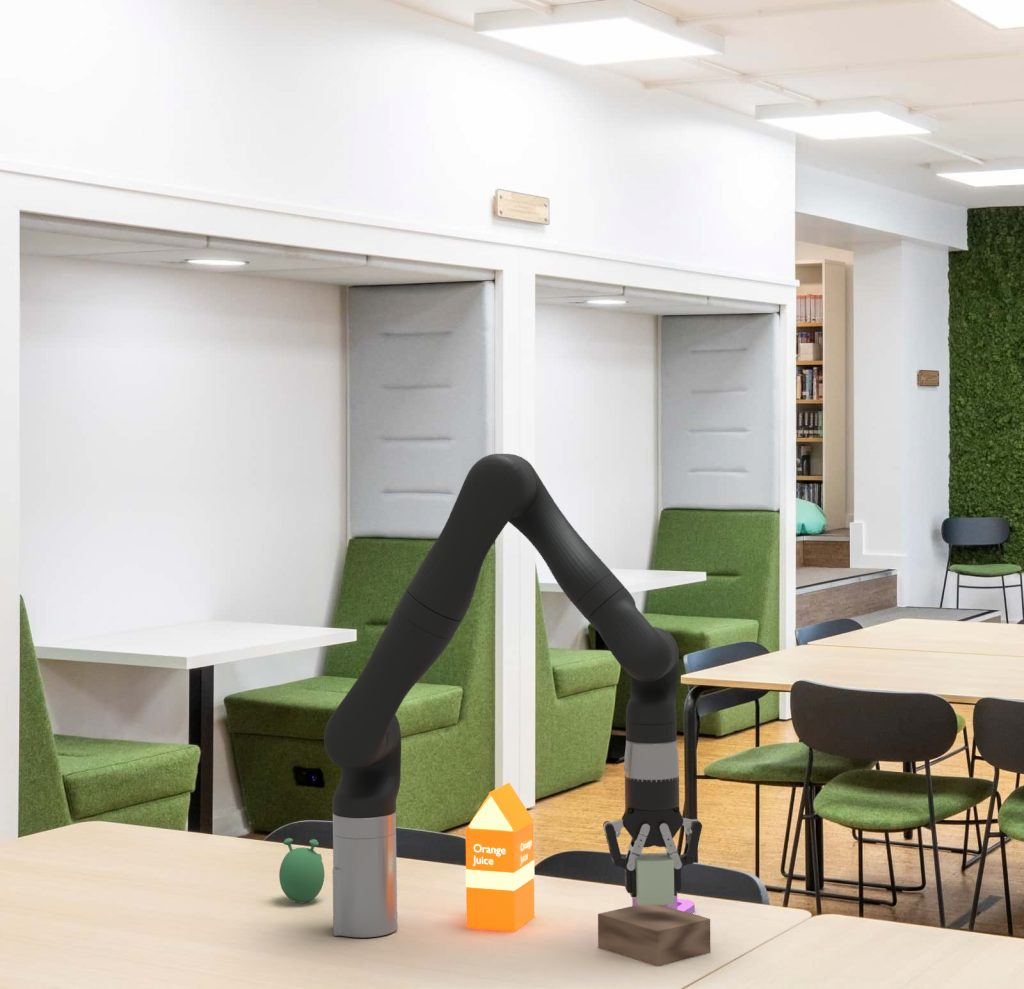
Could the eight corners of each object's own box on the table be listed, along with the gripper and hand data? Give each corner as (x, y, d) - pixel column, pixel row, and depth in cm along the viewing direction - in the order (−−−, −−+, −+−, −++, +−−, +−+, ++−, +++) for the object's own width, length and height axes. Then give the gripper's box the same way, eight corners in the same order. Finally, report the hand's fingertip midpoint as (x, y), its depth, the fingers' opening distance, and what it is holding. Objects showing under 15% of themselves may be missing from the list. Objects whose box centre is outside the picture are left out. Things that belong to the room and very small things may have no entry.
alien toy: (329, 895, 257) (329, 832, 257) (319, 908, 250) (318, 843, 250) (286, 895, 258) (285, 832, 258) (274, 907, 250) (274, 842, 250)
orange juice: (465, 927, 237) (464, 791, 237) (487, 912, 246) (485, 781, 246) (515, 932, 235) (514, 794, 235) (536, 916, 243) (534, 783, 243)
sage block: (638, 905, 222) (637, 861, 222) (632, 896, 227) (632, 853, 227) (674, 904, 223) (673, 860, 222) (667, 895, 227) (667, 852, 227)
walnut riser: (657, 968, 217) (657, 931, 217) (598, 949, 226) (597, 913, 226) (710, 955, 223) (710, 918, 223) (650, 937, 233) (650, 902, 233)
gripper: (604, 778, 221) (605, 904, 221) (708, 776, 222) (709, 900, 222) (596, 769, 228) (598, 890, 228) (697, 767, 229) (699, 887, 229)
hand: (653, 894), depth 225 cm, fingers closed on sage block, 5 cm apart
